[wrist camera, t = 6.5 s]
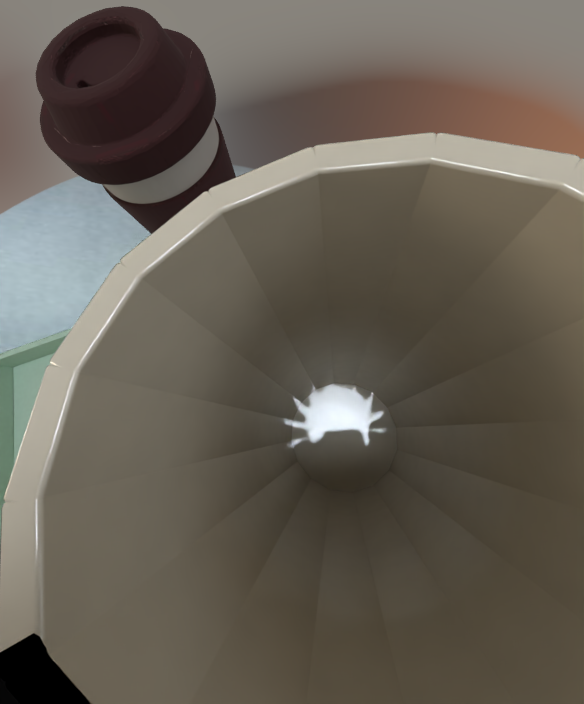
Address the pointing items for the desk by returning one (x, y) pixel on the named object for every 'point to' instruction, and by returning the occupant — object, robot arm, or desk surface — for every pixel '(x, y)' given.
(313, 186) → the tumbler
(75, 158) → the coffee cup
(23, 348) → the tray
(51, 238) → the desk surface
